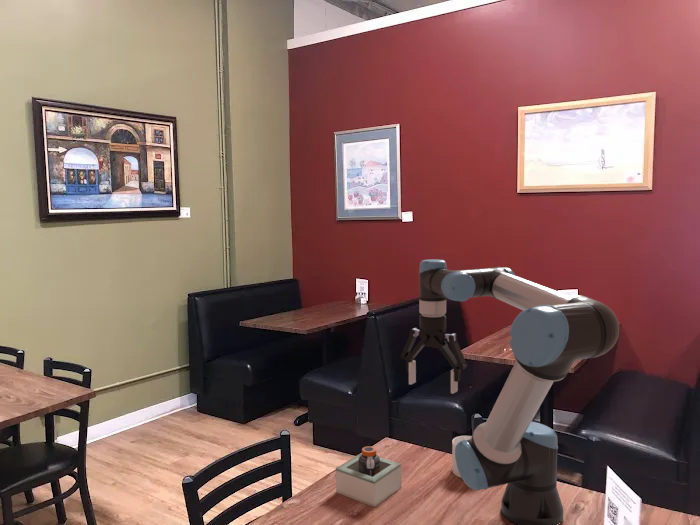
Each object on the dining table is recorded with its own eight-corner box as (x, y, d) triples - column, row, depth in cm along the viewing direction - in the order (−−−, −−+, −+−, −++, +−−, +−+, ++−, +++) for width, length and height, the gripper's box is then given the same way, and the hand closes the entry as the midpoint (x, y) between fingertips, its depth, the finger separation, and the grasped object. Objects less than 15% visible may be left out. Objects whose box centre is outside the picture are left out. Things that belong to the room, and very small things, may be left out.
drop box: (401, 487, 161) (401, 463, 160) (374, 507, 151) (374, 481, 150) (364, 474, 169) (363, 451, 168) (336, 492, 159) (335, 468, 158)
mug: (485, 480, 165) (486, 448, 164) (453, 479, 165) (453, 448, 164) (479, 461, 177) (479, 431, 176) (449, 460, 177) (449, 431, 176)
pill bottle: (378, 494, 156) (378, 454, 155) (357, 492, 157) (356, 452, 156) (381, 483, 162) (381, 445, 161) (360, 481, 163) (360, 443, 162)
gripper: (479, 317, 157) (478, 392, 159) (402, 307, 172) (402, 376, 174) (467, 321, 151) (466, 400, 153) (388, 311, 166) (389, 383, 169)
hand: (432, 387), depth 164 cm, fingers open, 13 cm apart
